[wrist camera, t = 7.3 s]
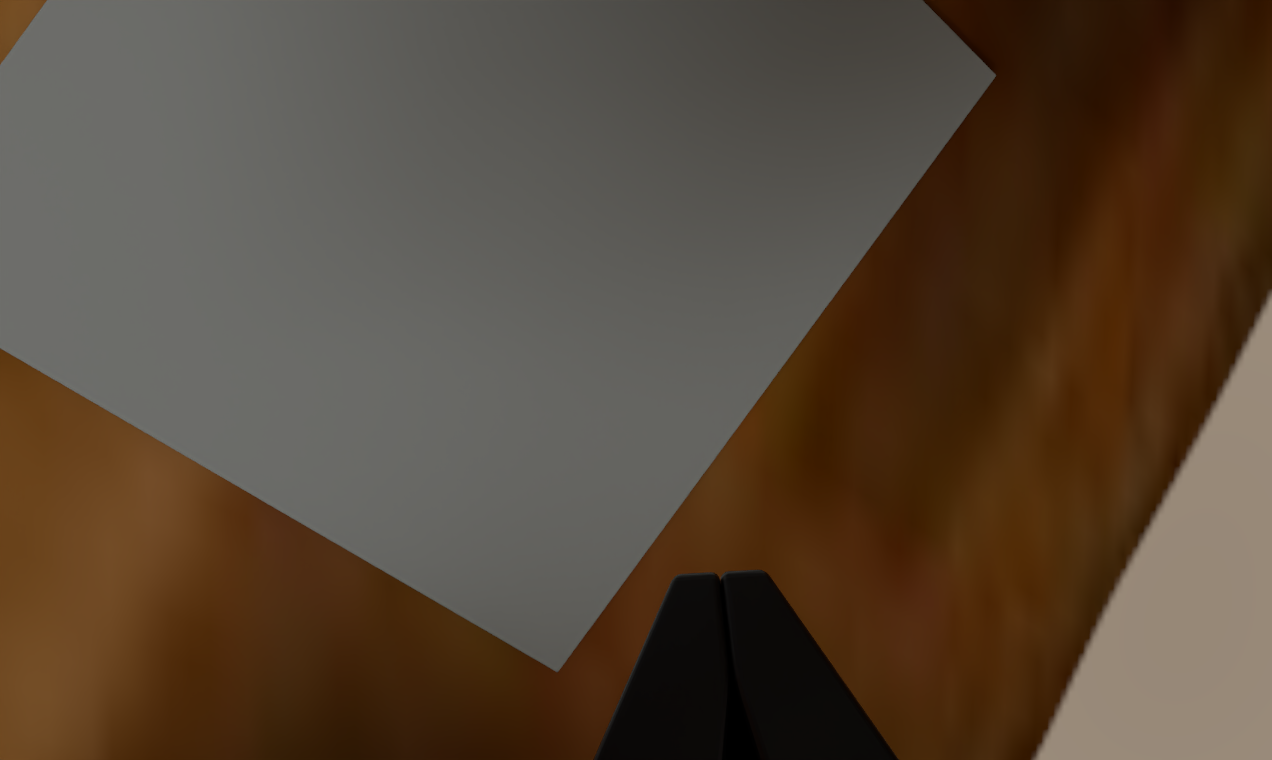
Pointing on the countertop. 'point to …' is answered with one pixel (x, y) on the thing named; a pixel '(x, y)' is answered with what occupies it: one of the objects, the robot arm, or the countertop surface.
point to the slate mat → (456, 252)
